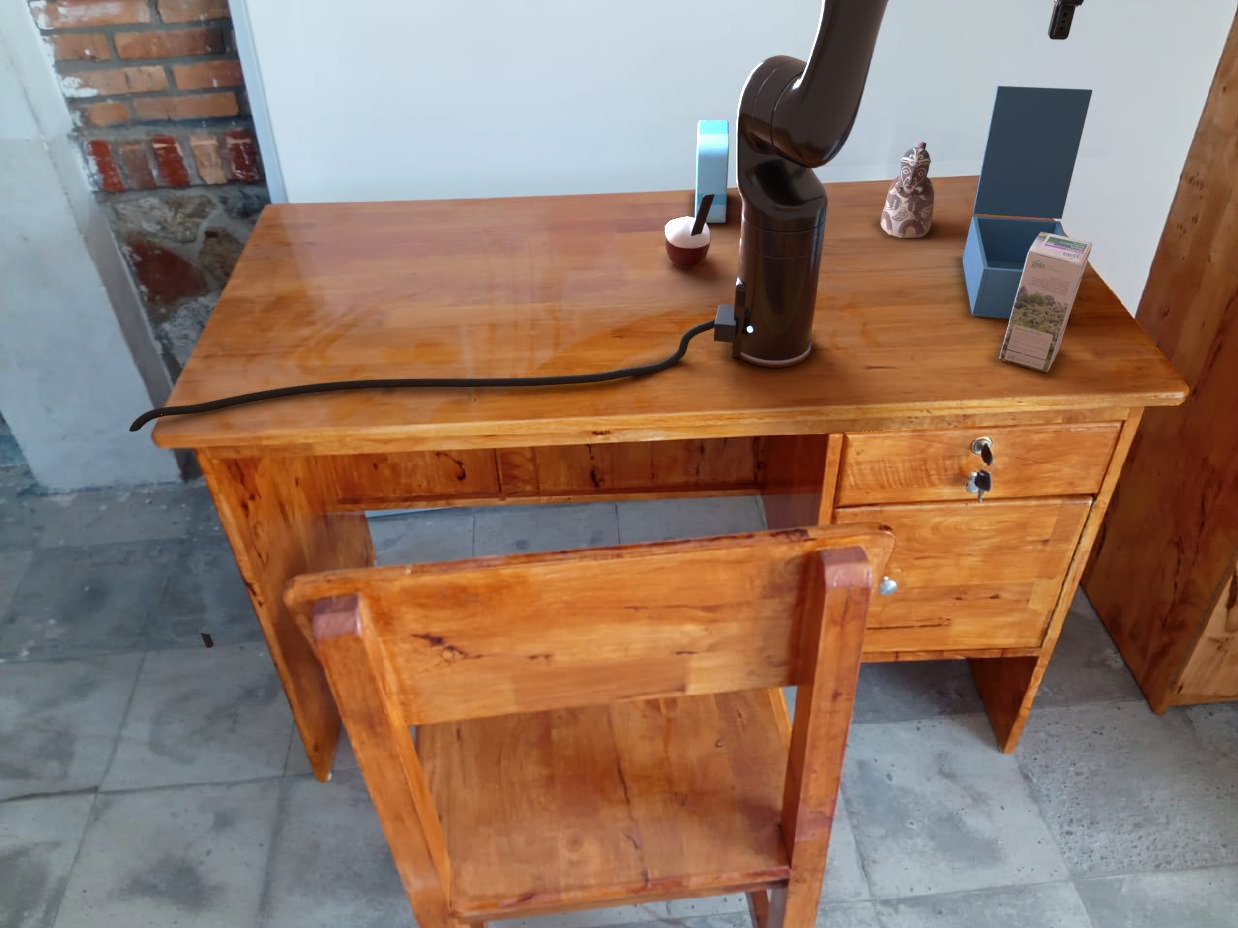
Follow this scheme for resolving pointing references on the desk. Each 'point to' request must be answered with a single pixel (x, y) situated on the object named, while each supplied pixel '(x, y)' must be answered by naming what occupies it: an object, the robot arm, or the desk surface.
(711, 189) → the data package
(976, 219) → the box
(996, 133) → the lunchbox lid
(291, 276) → the desk surface
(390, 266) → the desk surface
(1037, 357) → the syrup box
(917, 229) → the figurine
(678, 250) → the ice cream cup
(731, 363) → the desk surface
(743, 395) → the desk surface
